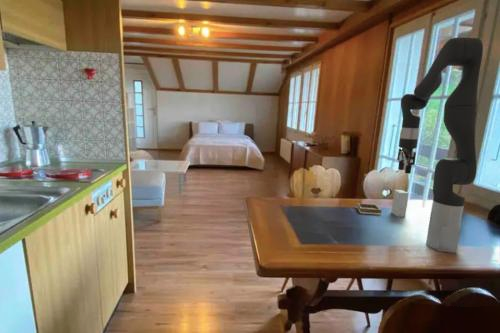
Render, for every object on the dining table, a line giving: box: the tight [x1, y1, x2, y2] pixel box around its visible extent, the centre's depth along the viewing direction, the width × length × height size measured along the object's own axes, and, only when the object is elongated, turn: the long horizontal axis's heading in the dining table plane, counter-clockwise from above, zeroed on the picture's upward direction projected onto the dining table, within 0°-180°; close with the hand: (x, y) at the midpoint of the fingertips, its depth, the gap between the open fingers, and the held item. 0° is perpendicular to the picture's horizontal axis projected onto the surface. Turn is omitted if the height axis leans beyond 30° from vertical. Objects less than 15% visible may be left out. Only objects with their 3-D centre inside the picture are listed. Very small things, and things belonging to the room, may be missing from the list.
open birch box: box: [356, 202, 382, 216], centre depth 141 cm, size 9×10×2 cm
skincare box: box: [391, 189, 410, 218], centre depth 136 cm, size 6×4×12 cm
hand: (404, 171), depth 133 cm, fingers open, 8 cm apart
